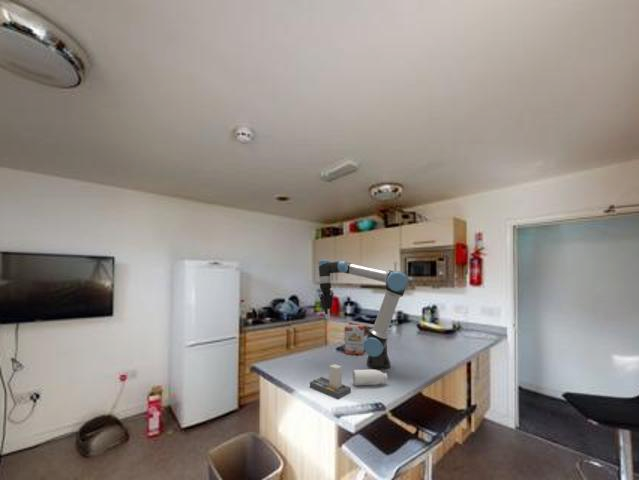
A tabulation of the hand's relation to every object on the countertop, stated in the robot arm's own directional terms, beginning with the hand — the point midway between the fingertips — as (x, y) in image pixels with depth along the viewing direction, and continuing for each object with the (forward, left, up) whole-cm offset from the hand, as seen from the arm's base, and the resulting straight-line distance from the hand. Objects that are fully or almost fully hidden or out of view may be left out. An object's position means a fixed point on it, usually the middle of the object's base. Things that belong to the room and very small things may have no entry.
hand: (327, 318), depth 181 cm
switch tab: (-11, +34, -28) cm, 45 cm away
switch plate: (-8, +32, -31) cm, 45 cm away
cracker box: (-14, -33, -31) cm, 47 cm away
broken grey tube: (-27, +20, -31) cm, 46 cm away
